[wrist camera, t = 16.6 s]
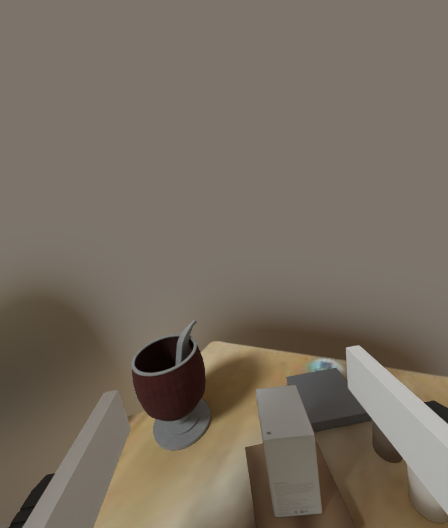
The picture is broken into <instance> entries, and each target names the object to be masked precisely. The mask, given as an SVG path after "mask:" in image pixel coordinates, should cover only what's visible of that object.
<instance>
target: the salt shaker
mask: <svg viewBox="0 0 448 528" xmlns="http://www.w3.org/2000/svg"><path fill="white" fill-rule="evenodd" d="M407 472H408V494H409V499H410V501H411V503H412V505H413V506H414V508H415V509H416V510H417V511H418V512H419V513H420V514H421V515H422V516H423V517H425V518H426V519H428V520H429V521H431V522H434V523H439V524H442V523H445V522H447V521H448V515H447V514H446V512H445V511H444V510H443V508H442V507H441V506H440V505H439V503H438V502H437V501H436V500H435V498H434V497H433V496H432V494H431V493H430V492H429V491H428V489H427V488H426V487H425V486H424V484H423V483H422V482H421V480H420V479H419V478H418V477H417V475H416V474H415V473H414V472H413V470H412V469H411V468H410V466H409V465H408V464H407Z"/></svg>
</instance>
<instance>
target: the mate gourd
mask: <svg viewBox="0 0 448 528" xmlns="http://www.w3.org/2000/svg"><path fill="white" fill-rule="evenodd" d="M195 323H196V321H195V320H193V321H192V322H191V323H190V324H189V325H188V326H187V327H186V329H185V330H184V331H183V332H182V334H174V335H168V336H165V337H161V338H158V339H156V340H154V341H152V342H150V343H148V344H147V345H145V346H144V347H143V348H141V349H140V350H139V351H138V352H137V353H136V354H135V356H134V357H133V360H132V363H131V366H132V376H133V384H134V388H135V391H136V394H137V397H138V399H139V401H140V403H141V405H142V407H143V408H144V410H145V411H146V412H147V414H148V415H149V416H151V417H152V418H155V419H156V420H155V422H154V427H153V434H154V437H155V440H156V442H157V444H158V445H159V446H160V447H161V448H164V449H166V450H171V451H174V450H181V449H184V448H187V447H189V446H191V445H192V444H194V443H195V442H197V441H198V440H199V439H200V438H201V437H202V436H203V434H204V433H205V432H206V430H207V428H208V426H209V423H210V418H211V413H210V408H209V405H208V403H207V402H206V401H205V400H204V399H203V398H202V396H203V394H204V390H205V367H204V362H203V358H202V355H201V353H200V350H199V348H198V346H197V343H196V340H195V339H194V338H193V337H191V336H190V333H191V330H192V327H193V326H194V324H195Z"/></svg>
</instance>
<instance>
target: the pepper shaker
mask: <svg viewBox="0 0 448 528" xmlns="http://www.w3.org/2000/svg"><path fill="white" fill-rule="evenodd" d="M372 433H373V448H374V450H375V451H376V453H377V454H378V455H379V456H380V457H381V458H383V459H384V460H386V461H389V462H392V463H398V462H400V461H401V460H402V459H403V458H402V456H401V455H400V454H399V452H398V451H397V450H396V449H395V447H394V446H393V445H392V444H391V442H390V441H389V440H388V438H387V437H386V436H385V435H384V433H383V432H382V431H381V430H380V428H379V427H378V426H377V424H376V423H375V422H374V421H373V419H372Z"/></svg>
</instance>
